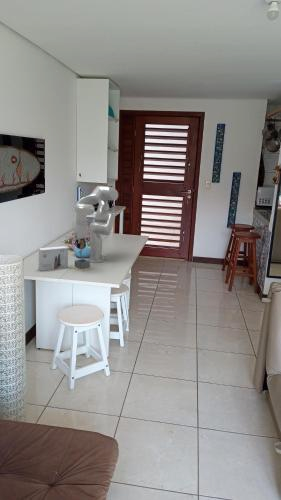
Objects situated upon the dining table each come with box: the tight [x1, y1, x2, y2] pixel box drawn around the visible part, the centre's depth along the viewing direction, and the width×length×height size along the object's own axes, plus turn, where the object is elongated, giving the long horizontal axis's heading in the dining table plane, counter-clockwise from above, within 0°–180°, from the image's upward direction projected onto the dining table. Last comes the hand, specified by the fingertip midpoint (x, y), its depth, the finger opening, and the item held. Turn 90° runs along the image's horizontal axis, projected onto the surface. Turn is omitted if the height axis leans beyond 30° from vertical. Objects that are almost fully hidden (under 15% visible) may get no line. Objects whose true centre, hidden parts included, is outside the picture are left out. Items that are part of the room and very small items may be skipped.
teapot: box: [71, 242, 90, 259], centre depth 314 cm, size 15×15×10 cm
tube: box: [72, 258, 93, 272], centre depth 283 cm, size 11×11×5 cm
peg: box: [78, 239, 84, 249], centre depth 276 cm, size 4×4×7 cm
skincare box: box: [37, 245, 69, 272], centre depth 275 cm, size 21×6×16 cm, turn 126°
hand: (81, 247), depth 276 cm, fingers closed on peg, 4 cm apart
